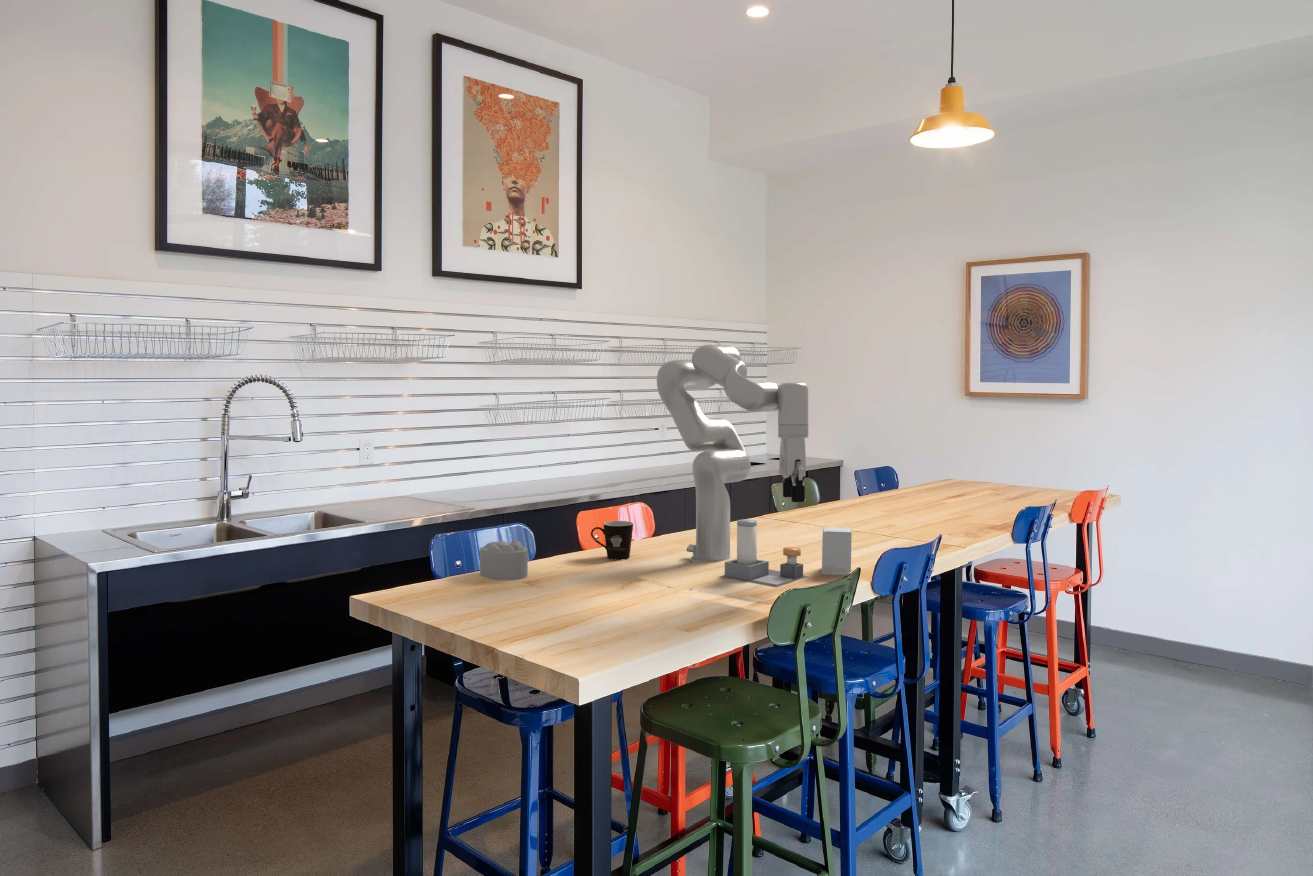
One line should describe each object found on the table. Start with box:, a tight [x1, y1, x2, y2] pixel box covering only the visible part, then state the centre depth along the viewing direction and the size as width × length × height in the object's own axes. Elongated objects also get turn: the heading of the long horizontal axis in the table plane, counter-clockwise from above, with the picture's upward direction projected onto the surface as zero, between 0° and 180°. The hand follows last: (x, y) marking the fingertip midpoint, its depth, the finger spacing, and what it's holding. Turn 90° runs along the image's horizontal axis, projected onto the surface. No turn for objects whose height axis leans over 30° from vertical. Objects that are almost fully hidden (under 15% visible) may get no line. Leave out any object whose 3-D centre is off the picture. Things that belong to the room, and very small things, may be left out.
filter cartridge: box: [736, 518, 758, 566], centre depth 219 cm, size 5×5×14 cm
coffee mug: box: [590, 520, 634, 561], centre depth 248 cm, size 12×9×10 cm
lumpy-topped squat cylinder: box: [479, 539, 529, 581], centre depth 226 cm, size 10×13×9 cm
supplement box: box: [821, 526, 853, 576], centre depth 223 cm, size 7×7×13 cm
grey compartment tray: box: [719, 558, 809, 588], centre depth 218 cm, size 17×15×5 cm
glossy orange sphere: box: [782, 546, 802, 566], centre depth 218 cm, size 4×4×4 cm
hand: (793, 499), depth 217 cm, fingers open, 9 cm apart
